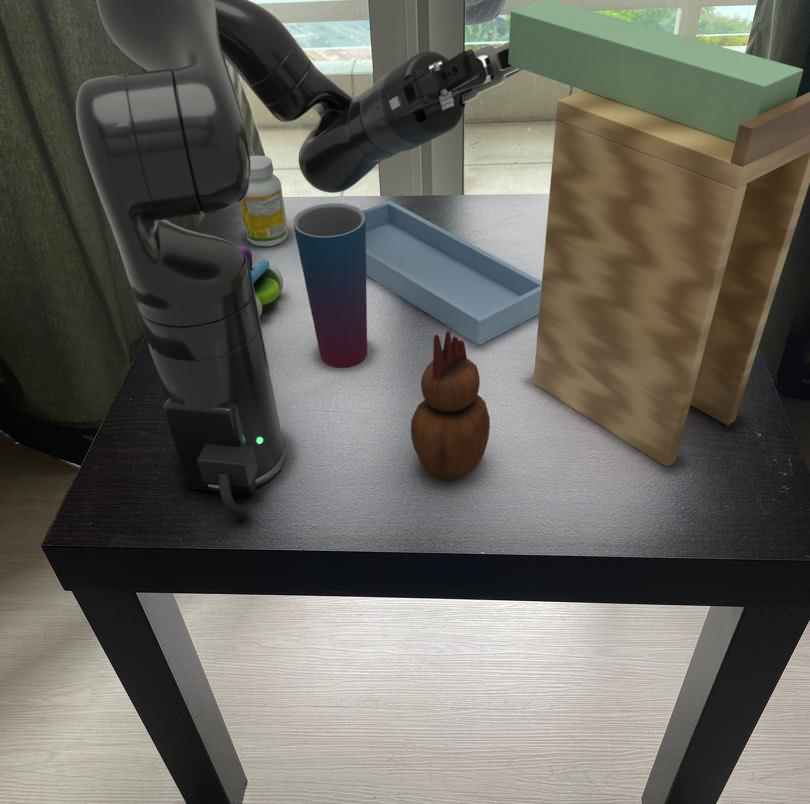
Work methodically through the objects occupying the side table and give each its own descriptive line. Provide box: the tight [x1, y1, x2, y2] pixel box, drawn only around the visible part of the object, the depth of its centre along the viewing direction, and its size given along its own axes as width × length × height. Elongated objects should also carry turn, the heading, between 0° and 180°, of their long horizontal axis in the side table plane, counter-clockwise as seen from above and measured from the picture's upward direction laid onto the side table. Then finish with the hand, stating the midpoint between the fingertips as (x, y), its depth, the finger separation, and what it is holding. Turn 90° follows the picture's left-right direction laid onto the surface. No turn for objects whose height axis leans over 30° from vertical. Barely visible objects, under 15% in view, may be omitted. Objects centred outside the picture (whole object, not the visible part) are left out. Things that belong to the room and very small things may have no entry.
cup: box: [292, 202, 368, 369], centre depth 85 cm, size 7×7×15 cm
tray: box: [361, 200, 542, 346], centre depth 99 cm, size 28×10×3 cm, turn 39°
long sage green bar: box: [508, 0, 804, 142], centre depth 64 cm, size 24×4×4 cm, turn 39°
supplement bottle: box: [239, 155, 289, 247], centre depth 105 cm, size 5×5×10 cm
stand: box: [532, 90, 810, 468], centre depth 72 cm, size 17×10×30 cm, turn 39°
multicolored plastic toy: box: [237, 245, 284, 317], centre depth 95 cm, size 8×10×7 cm
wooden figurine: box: [410, 330, 491, 481], centre depth 72 cm, size 7×6×15 cm
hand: (510, 49), depth 73 cm, fingers open, 8 cm apart
